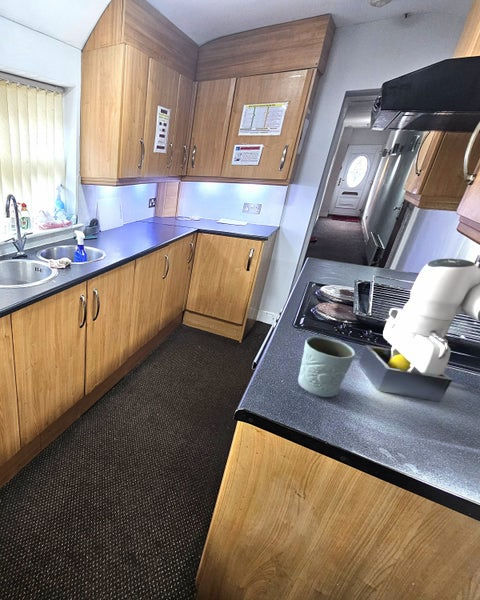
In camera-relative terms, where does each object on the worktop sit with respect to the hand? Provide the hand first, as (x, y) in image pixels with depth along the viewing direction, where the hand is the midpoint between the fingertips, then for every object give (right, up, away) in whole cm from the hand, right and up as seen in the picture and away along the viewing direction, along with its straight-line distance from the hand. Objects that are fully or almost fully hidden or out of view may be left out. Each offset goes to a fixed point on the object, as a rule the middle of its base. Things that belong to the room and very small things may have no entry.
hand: (401, 370), depth 86 cm
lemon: (0, -3, +1) cm, 3 cm away
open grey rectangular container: (0, -3, +1) cm, 4 cm away
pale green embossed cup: (-23, -4, -1) cm, 24 cm away
